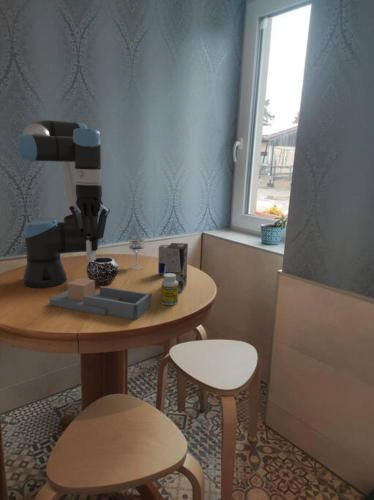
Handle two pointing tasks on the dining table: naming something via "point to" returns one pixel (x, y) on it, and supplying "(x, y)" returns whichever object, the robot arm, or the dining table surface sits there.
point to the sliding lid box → (108, 302)
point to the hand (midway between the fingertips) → (91, 260)
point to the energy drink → (162, 260)
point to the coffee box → (177, 263)
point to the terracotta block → (81, 288)
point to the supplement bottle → (169, 289)
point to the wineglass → (136, 249)
